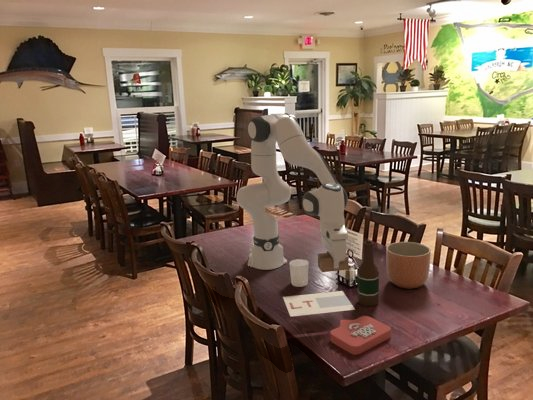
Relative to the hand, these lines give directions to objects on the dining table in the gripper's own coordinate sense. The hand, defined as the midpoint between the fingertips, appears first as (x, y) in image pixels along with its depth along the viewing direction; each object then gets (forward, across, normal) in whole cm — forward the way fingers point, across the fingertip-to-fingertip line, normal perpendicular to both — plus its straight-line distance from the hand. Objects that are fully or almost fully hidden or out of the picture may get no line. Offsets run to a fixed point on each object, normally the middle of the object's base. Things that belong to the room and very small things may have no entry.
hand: (333, 264), depth 168 cm
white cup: (+16, -19, -9) cm, 27 cm away
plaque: (+17, +24, +1) cm, 29 cm away
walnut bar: (+2, 0, 0) cm, 2 cm away
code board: (+16, 0, -6) cm, 17 cm away
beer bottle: (+16, +2, +13) cm, 21 cm away
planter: (+16, -10, +34) cm, 39 cm away
